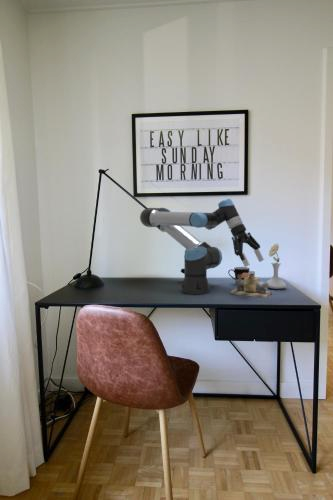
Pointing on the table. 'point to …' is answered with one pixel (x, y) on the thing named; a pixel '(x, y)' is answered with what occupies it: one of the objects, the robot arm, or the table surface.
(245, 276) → the lever
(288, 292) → the table surface
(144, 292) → the table surface
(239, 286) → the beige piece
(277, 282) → the flower in vase
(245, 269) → the coffee mug
